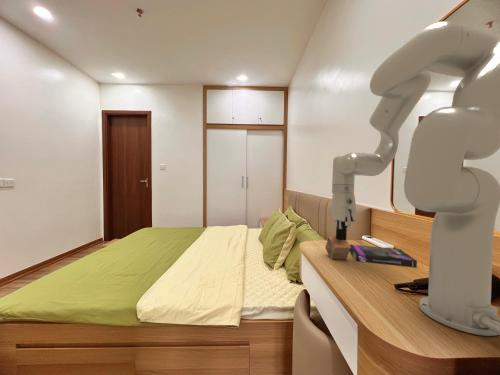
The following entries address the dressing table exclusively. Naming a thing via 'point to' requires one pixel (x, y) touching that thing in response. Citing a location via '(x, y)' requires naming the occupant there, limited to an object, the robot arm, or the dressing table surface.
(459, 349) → the dressing table surface
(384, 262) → the box
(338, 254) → the walnut block
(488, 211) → the robot arm
